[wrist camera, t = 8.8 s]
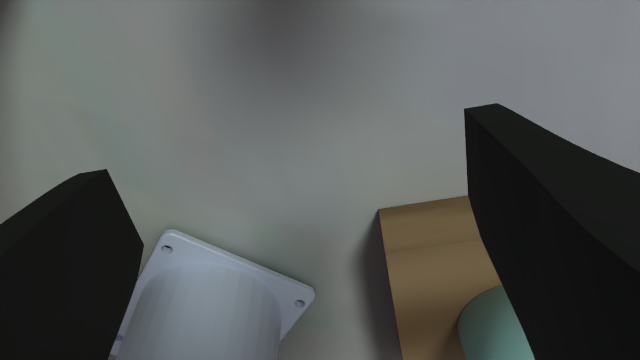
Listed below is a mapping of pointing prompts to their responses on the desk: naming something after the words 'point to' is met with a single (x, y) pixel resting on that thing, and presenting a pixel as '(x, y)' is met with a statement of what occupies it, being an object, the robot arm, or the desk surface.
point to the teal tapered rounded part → (492, 329)
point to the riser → (434, 273)
